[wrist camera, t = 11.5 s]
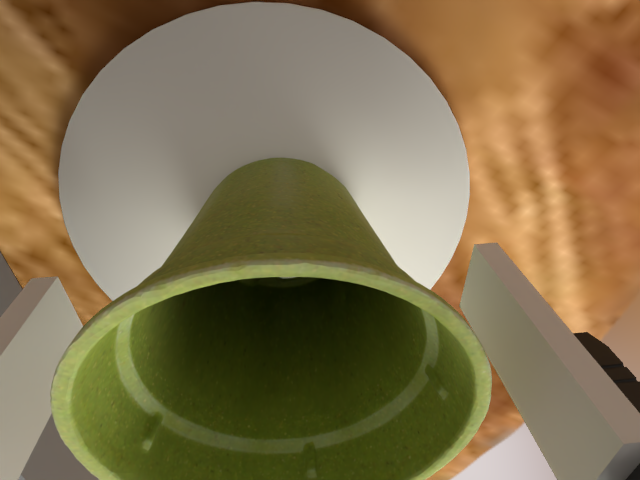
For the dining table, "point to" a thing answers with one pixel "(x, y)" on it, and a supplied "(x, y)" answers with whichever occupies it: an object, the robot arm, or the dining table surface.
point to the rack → (50, 451)
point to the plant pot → (273, 350)
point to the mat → (258, 135)
